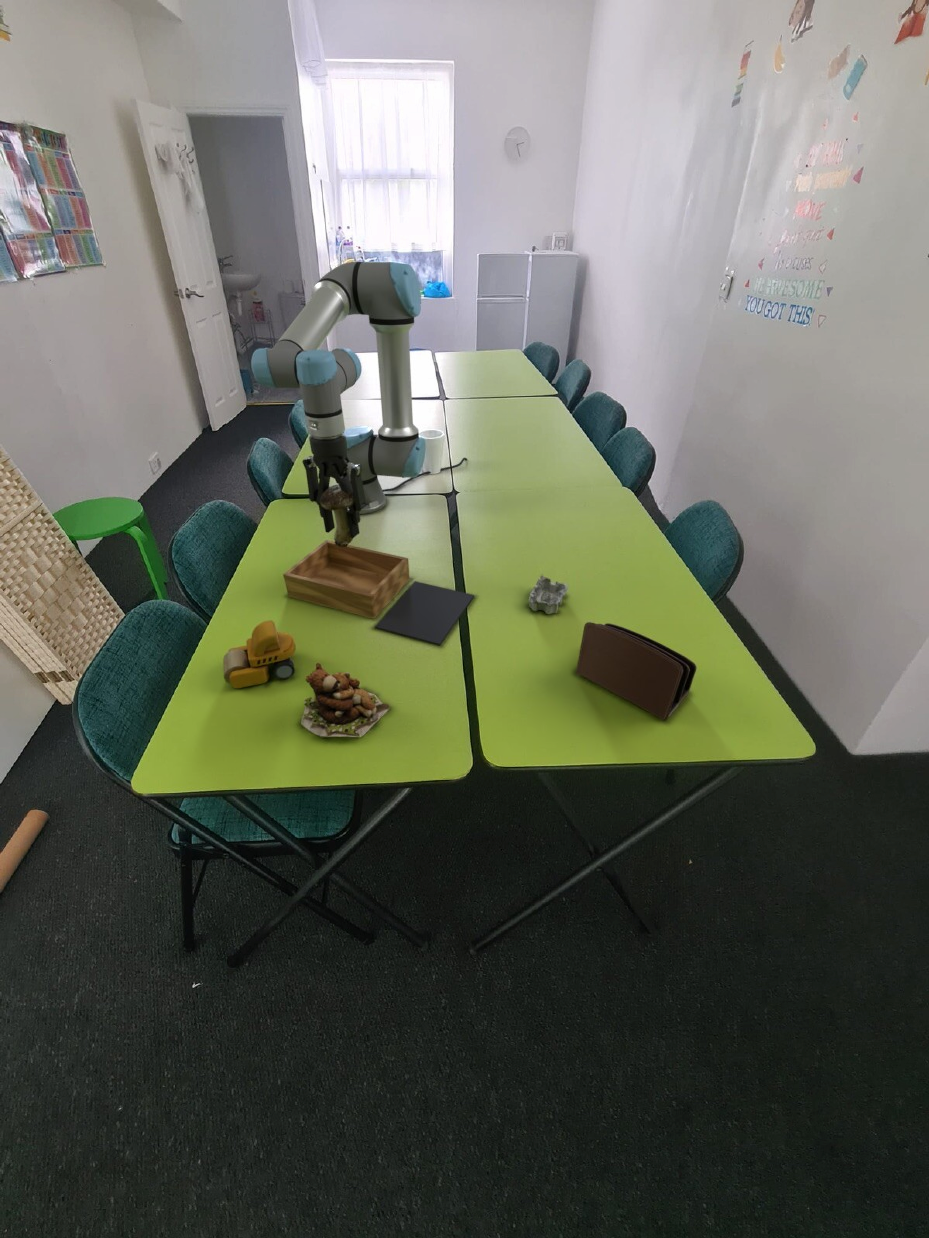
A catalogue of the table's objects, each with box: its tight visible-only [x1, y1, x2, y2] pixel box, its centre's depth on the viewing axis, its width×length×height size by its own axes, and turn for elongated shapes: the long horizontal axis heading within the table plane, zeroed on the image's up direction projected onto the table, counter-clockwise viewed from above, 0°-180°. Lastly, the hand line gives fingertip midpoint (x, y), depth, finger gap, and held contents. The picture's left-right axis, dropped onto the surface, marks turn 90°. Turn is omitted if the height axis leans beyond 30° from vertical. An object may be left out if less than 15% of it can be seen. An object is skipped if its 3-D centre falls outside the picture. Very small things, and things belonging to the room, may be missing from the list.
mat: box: [374, 580, 475, 647], centre depth 130 cm, size 20×16×1 cm
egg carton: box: [528, 574, 569, 615], centre depth 132 cm, size 11×8×4 cm
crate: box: [282, 539, 411, 620], centre depth 137 cm, size 18×24×6 cm
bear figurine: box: [300, 662, 391, 738], centre depth 101 cm, size 14×15×12 cm
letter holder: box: [575, 621, 698, 722], centre depth 107 cm, size 10×20×14 cm, turn 48°
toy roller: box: [222, 619, 297, 689], centre depth 111 cm, size 9×14×10 cm, turn 111°
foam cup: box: [418, 428, 445, 475], centre depth 194 cm, size 10×9×13 cm
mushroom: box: [320, 484, 355, 547], centre depth 127 cm, size 9×9×15 cm
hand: (342, 532), depth 129 cm, fingers closed on mushroom, 6 cm apart
